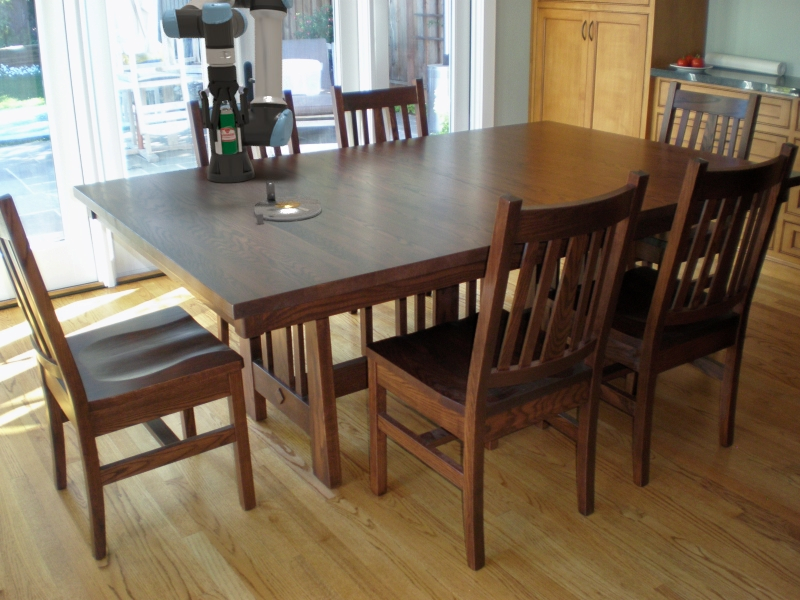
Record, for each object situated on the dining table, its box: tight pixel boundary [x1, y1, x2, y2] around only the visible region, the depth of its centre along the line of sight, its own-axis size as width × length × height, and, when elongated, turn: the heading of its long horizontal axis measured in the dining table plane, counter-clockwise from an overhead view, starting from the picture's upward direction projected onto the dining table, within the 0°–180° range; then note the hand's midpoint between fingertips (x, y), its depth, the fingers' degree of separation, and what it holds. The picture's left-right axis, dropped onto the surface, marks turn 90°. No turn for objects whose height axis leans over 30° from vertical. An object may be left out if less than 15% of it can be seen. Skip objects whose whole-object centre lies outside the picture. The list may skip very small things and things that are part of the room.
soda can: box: [217, 108, 238, 155], centre depth 225 cm, size 5×5×12 cm
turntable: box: [254, 181, 322, 222], centre depth 225 cm, size 18×18×7 cm
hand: (228, 151), depth 227 cm, fingers closed on soda can, 5 cm apart
